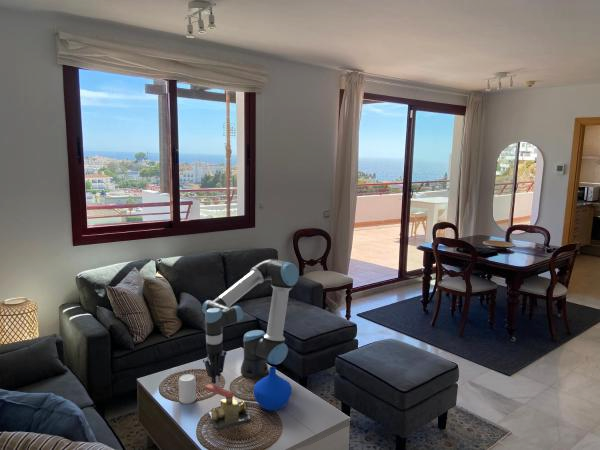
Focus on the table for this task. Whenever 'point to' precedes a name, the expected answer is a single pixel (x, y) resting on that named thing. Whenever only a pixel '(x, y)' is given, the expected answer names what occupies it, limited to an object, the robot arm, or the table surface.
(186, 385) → the white cylindrical piece
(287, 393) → the vase
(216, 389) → the lever
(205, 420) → the table surface
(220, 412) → the valve fixture
